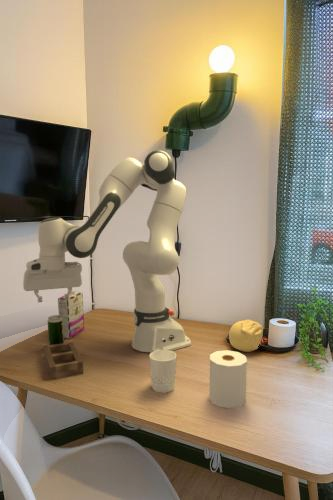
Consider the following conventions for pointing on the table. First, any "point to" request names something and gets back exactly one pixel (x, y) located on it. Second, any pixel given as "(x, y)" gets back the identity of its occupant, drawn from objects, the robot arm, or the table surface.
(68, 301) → the candy bar box
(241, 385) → the toilet paper
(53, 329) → the beer can
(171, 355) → the white cup
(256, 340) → the sculpture
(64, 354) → the shelf
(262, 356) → the table surface
